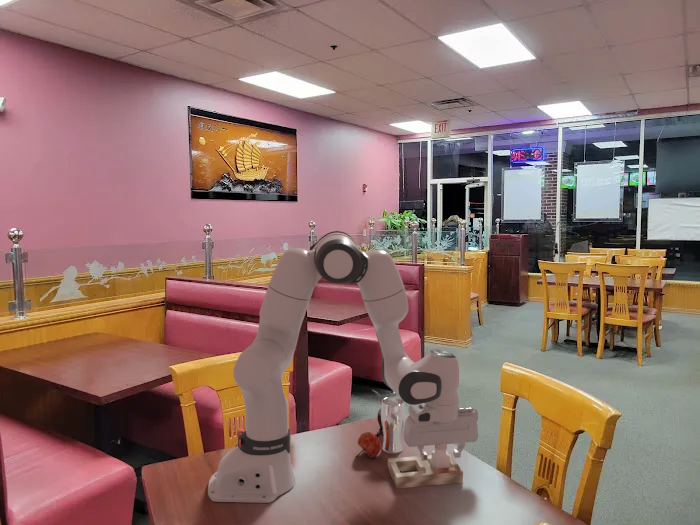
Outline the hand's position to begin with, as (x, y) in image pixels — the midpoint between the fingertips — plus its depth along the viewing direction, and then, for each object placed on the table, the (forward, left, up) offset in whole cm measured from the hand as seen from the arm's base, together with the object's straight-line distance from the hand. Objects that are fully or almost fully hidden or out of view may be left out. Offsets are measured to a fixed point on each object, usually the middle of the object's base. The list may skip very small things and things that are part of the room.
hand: (440, 458), depth 141 cm
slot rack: (-4, 0, -5) cm, 6 cm away
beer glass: (-9, +16, -5) cm, 19 cm away
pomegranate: (-17, +13, -5) cm, 22 cm away
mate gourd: (-8, +27, -5) cm, 29 cm away
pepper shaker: (0, 0, -5) cm, 5 cm away
